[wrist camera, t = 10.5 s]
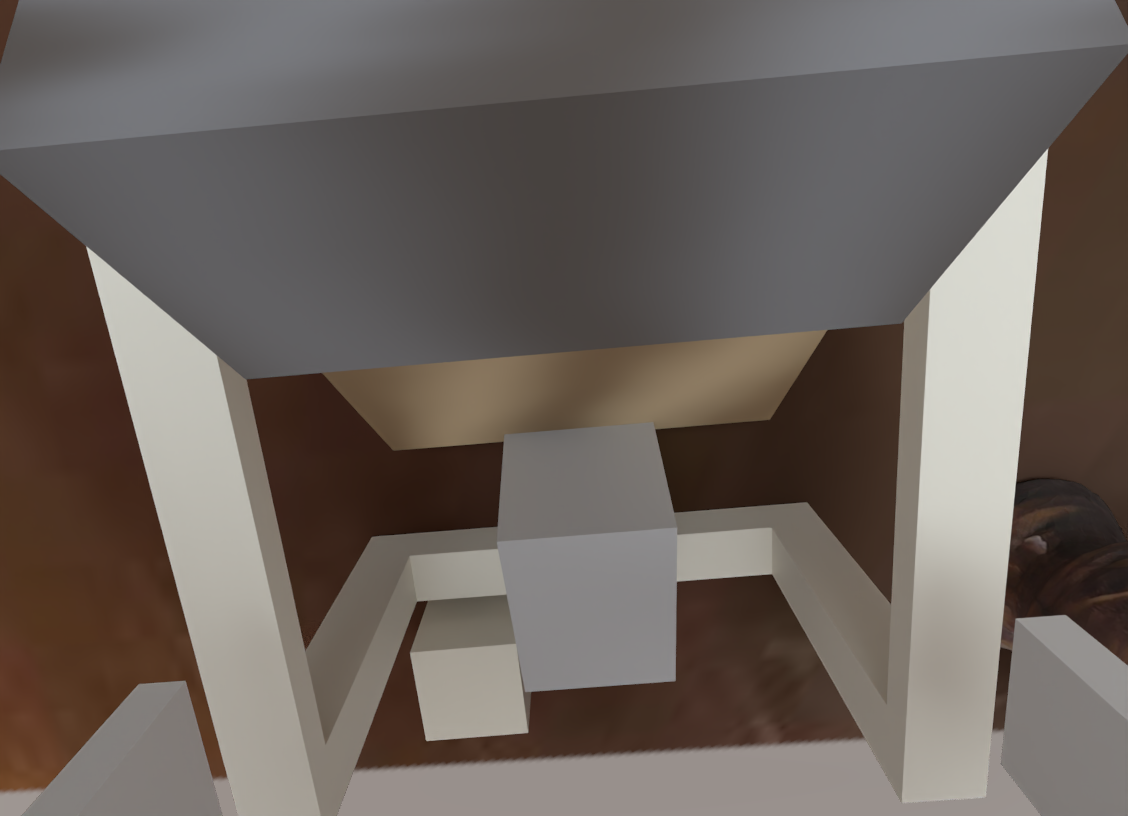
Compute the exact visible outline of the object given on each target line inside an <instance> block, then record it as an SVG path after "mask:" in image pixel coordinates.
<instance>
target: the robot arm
mask: <svg viewBox="0 0 1128 816" xmlns="http://www.w3.org/2000/svg"><path fill="white" fill-rule="evenodd" d="M1002 748H1003V749H1002V757H1001V765H1002V766H1003V767H1004V769H1005V770H1006V771H1007V773H1008V774H1009V775H1010V776H1011V777H1012V779H1013V780H1014V781H1015V783H1016V784H1017V785H1018V787H1019V788H1020V789H1021V790H1022V792H1023V793H1024V794H1025V795H1026V797H1027V798H1028V799H1029V800H1030V802H1031V803H1032V804H1033V806H1034V807H1035V808H1036V809H1037V811H1038V812H1039V813H1040V815H1041V816H1128V665H1126V664H1125V663H1124V662H1123V661H1122V660H1120V659H1119V658H1118V657H1117V656H1115V655H1114V654H1113V653H1112V652H1110V651H1109V650H1108V649H1107V648H1106V647H1104V646H1103V645H1102V644H1101V643H1099V642H1098V641H1097V640H1096V639H1094V638H1093V637H1092V636H1091V635H1090V634H1088V633H1087V632H1086V631H1085V630H1083V629H1082V628H1081V627H1080V626H1079V625H1077V624H1076V623H1075V622H1074V621H1072V620H1071V619H1070V618H1069V617H1067V616H1066V615H1057V616H1044V617H1030V618H1017V619H1015V629H1014V639H1013V649H1012V659H1011V668H1010V678H1009V688H1008V698H1007V708H1006V718H1005V728H1004V737H1003V747H1002ZM22 816H222V812H221V808H220V805H219V801H218V797H217V794H216V790H215V787H214V783H213V779H212V775H211V772H210V768H209V764H208V761H207V757H206V753H205V750H204V746H203V742H202V739H201V735H200V732H199V728H198V724H197V721H196V717H195V713H194V710H193V706H192V702H191V699H190V695H189V691H188V688H187V684H186V681H175V682H162V683H148V684H138V685H137V687H136V688H135V689H134V690H133V691H132V692H131V693H130V694H129V696H128V697H127V698H126V699H125V700H124V701H123V702H122V703H121V705H120V706H119V707H118V708H117V709H116V710H115V711H114V712H113V714H112V715H111V716H110V717H109V718H108V719H107V720H106V721H105V722H104V724H103V725H102V726H101V727H100V728H99V729H98V730H97V731H96V733H95V734H94V735H93V736H92V737H91V738H90V739H89V740H88V742H87V743H86V744H85V745H84V746H83V747H82V748H81V749H80V751H79V752H78V753H77V754H76V755H75V756H74V757H73V758H72V759H71V761H70V762H69V763H68V764H67V765H66V766H65V767H64V768H63V770H62V771H61V772H60V773H59V774H58V775H57V776H56V777H55V779H54V780H53V781H52V782H51V783H50V784H49V785H48V786H47V788H46V789H45V790H44V791H43V792H42V793H41V794H40V795H39V796H38V798H37V799H36V800H35V801H34V802H33V803H32V804H31V805H30V807H29V808H28V809H27V810H26V811H25V812H24V813H23V814H22Z"/></svg>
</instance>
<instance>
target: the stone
mask: <svg viewBox="0 0 1128 816" xmlns="http://www.w3.org/2000/svg"><path fill="white" fill-rule="evenodd" d="M497 546H498V552H499V557H500V562H501V567H502V573H503V578H504V583H505V588H506V594H507V599H508V604H509V609H510V615H511V620H512V625H513V630H514V636H515V641H516V646H517V651H518V657H519V662H520V667H521V672H522V678H523V683H524V688H525V692H533V691H547V690H560V689H574V688H588V687H601V686H615V685H628V684H642V683H655V682H669V681H675V680H676V596H677V524H676V520H675V515H674V511H673V506H672V502H671V498H670V493H669V489H668V484H667V480H666V476H665V471H664V467H663V462H662V458H661V454H660V449H659V445H658V440H657V436H656V431H655V427H654V423H653V422H649V423H637V424H625V425H613V426H601V427H588V428H576V429H564V430H552V431H540V432H528V433H516V434H504V447H503V461H502V475H501V488H500V502H499V516H498V530H497Z"/></svg>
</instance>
